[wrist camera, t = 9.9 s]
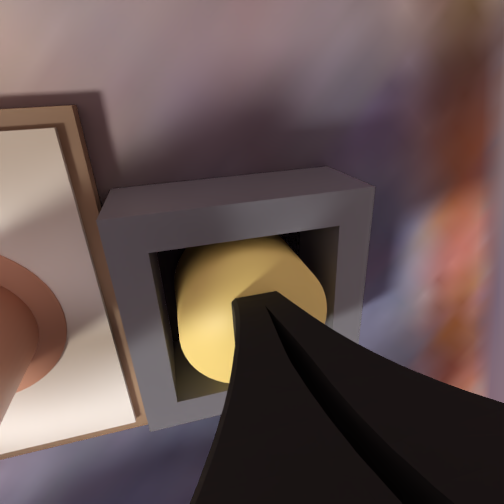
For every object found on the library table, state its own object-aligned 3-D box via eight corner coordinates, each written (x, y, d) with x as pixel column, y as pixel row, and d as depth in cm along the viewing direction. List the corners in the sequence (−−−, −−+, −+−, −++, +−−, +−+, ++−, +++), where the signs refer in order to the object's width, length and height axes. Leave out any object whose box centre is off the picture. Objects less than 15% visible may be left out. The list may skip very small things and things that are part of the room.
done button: (293, 318, 14) (323, 366, 11) (183, 339, 13) (189, 398, 10) (294, 213, 12) (330, 245, 9) (164, 230, 11) (167, 270, 9)
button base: (319, 331, 15) (354, 381, 12) (151, 366, 14) (150, 431, 11) (327, 166, 12) (375, 186, 9) (111, 188, 11) (95, 220, 8)
